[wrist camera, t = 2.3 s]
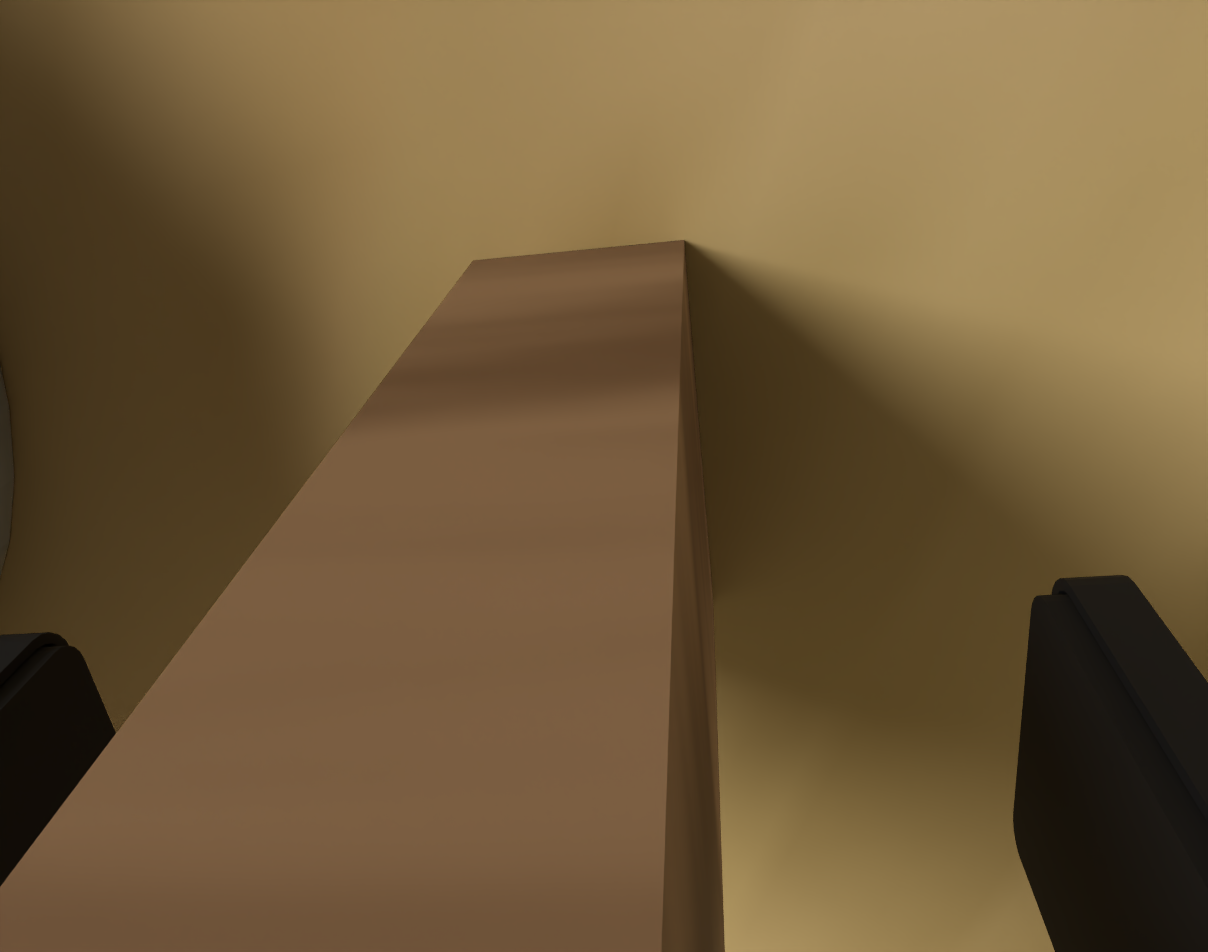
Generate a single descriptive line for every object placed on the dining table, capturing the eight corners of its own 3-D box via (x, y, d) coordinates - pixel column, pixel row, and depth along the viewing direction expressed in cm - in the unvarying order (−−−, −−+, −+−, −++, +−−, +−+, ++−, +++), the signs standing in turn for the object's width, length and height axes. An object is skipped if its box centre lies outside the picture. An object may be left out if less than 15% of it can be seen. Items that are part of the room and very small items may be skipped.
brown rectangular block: (473, 260, 14) (-209, 1161, 3) (684, 239, 14) (655, 1179, 3) (535, 610, 17) (259, 1728, 6) (713, 601, 16) (751, 1775, 6)
